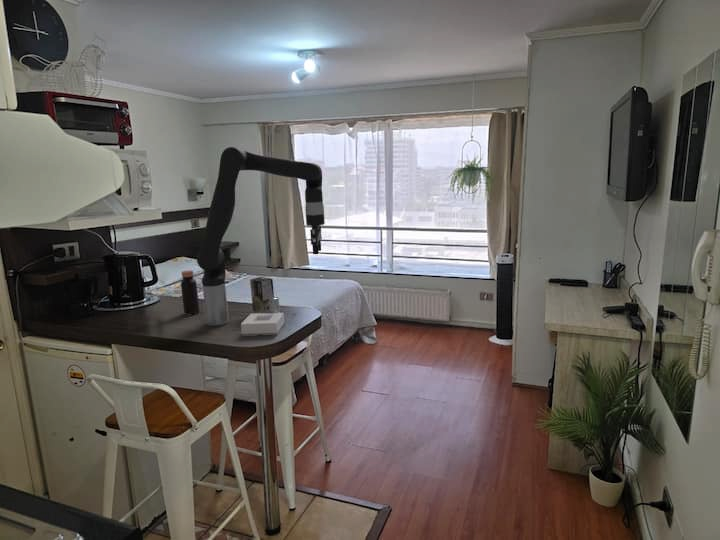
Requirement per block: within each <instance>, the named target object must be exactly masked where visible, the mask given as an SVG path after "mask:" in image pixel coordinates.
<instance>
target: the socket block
mask: <svg viewBox="0 0 720 540" xmlns="http://www.w3.org/2000/svg"><path fill="white" fill-rule="evenodd" d="M284 326H285V313H284V312H280V313H253V312H252V313H250V314H249V315H248V316H247V317H246V318H245V319H244V320H243V321H242V322H241V323H240V328H241V337H258V336H257V335H272V336H278V335H279V334H278V333H281V331H280V330H282V329H283V328H284Z"/></svg>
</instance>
